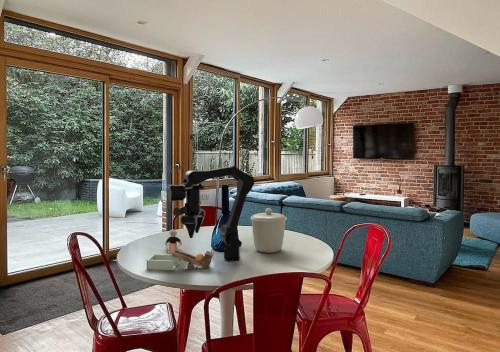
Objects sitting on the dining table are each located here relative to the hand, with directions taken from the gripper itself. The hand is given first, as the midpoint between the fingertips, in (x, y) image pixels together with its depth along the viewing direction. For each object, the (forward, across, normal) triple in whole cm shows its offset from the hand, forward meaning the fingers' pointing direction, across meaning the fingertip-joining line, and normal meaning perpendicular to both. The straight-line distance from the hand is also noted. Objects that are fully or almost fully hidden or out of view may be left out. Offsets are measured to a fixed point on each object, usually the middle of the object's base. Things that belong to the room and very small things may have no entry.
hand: (194, 235), depth 162 cm
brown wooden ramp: (+10, +5, 0) cm, 11 cm away
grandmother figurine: (+13, -10, -13) cm, 21 cm away
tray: (+12, +6, -12) cm, 18 cm away
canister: (+14, -26, +30) cm, 42 cm away
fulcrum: (+12, +5, 0) cm, 14 cm away
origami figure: (+13, -24, -18) cm, 32 cm away
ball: (+8, +5, +4) cm, 10 cm away
